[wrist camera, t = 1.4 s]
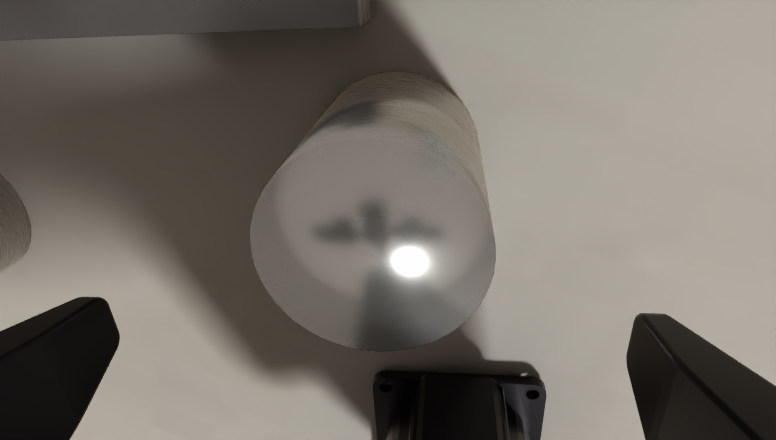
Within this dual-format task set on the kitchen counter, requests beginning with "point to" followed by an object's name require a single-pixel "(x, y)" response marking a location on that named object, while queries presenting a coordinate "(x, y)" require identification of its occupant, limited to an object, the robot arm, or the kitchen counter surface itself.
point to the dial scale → (172, 16)
